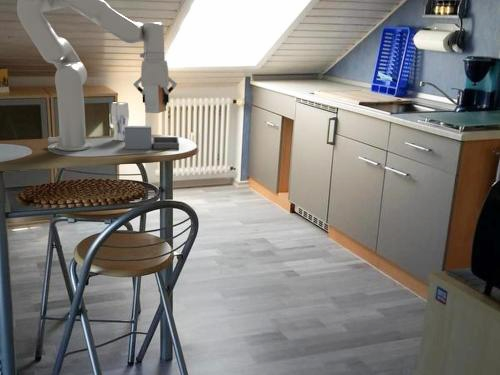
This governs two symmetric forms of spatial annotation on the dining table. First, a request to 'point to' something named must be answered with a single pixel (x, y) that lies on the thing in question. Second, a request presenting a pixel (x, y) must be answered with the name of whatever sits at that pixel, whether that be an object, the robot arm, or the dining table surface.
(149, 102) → the small box
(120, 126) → the beer glass
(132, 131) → the grey rectangular block
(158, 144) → the tray
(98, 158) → the dining table surface
